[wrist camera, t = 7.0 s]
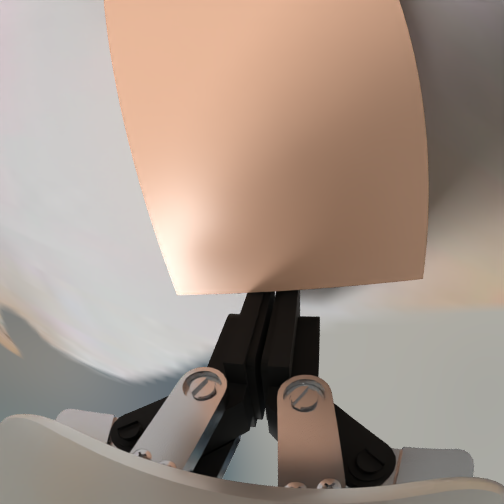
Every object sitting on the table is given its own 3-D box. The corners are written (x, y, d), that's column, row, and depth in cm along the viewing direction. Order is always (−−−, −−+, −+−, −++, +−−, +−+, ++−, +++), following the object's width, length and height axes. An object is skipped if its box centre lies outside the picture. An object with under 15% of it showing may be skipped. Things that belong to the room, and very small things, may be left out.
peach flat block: (346, -55, 5) (353, -96, 2) (399, 237, 10) (422, 278, 8) (145, -11, 7) (101, -31, 4) (205, 253, 12) (177, 295, 10)
